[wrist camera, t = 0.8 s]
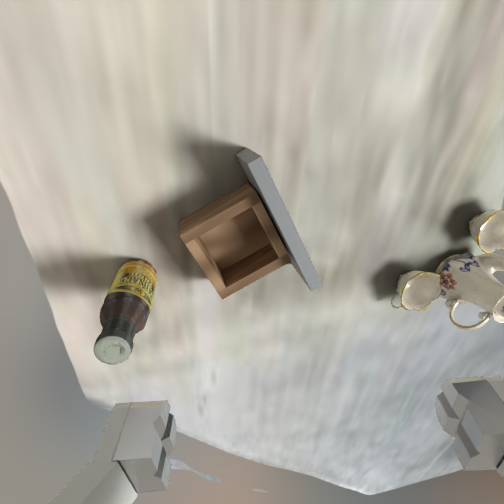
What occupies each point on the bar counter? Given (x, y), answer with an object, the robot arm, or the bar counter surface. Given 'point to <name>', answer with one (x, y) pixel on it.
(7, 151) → the bar counter surface
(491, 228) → the chinaware
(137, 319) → the sauce bottle
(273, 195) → the backstop wall
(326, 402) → the bar counter surface
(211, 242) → the wooden box
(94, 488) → the robot arm
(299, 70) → the bar counter surface
